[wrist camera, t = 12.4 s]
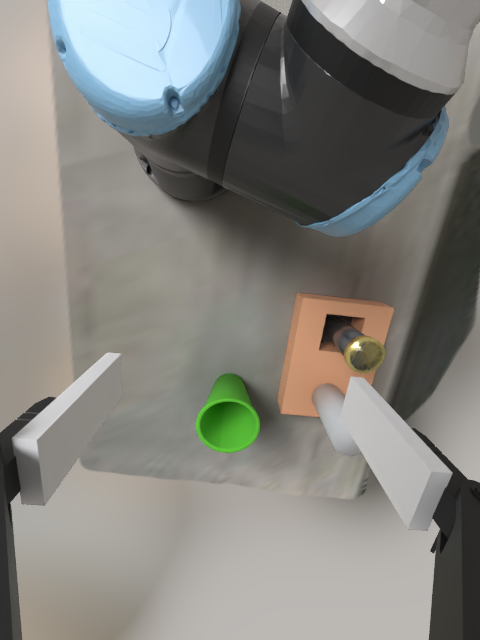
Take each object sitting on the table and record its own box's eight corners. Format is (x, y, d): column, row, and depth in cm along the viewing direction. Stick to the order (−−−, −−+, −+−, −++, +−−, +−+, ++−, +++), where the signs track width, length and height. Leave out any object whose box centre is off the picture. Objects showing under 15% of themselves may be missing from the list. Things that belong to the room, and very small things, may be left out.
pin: (321, 310, 44) (351, 336, 33) (349, 314, 44) (389, 340, 33) (315, 338, 45) (342, 371, 34) (342, 341, 46) (379, 375, 34)
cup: (261, 370, 47) (269, 408, 36) (245, 412, 49) (248, 459, 39) (212, 356, 46) (206, 391, 35) (198, 400, 48) (188, 444, 38)
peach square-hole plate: (296, 292, 43) (325, 316, 30) (380, 302, 44) (445, 330, 30) (277, 399, 49) (293, 460, 35) (351, 406, 50) (395, 468, 36)
